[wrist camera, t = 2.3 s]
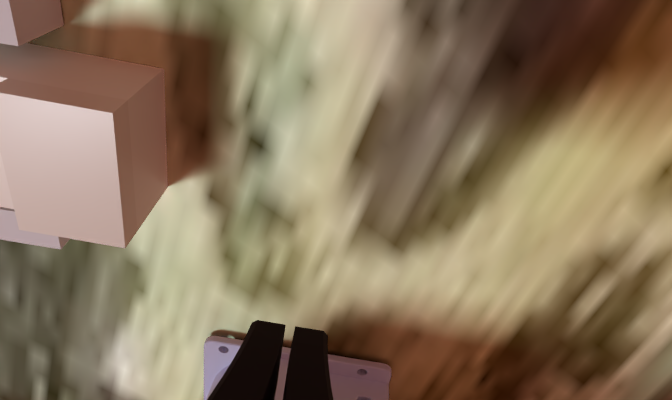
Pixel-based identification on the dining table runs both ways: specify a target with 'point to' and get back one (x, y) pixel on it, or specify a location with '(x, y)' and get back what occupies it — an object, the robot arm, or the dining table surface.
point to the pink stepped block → (80, 143)
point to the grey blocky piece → (17, 29)
